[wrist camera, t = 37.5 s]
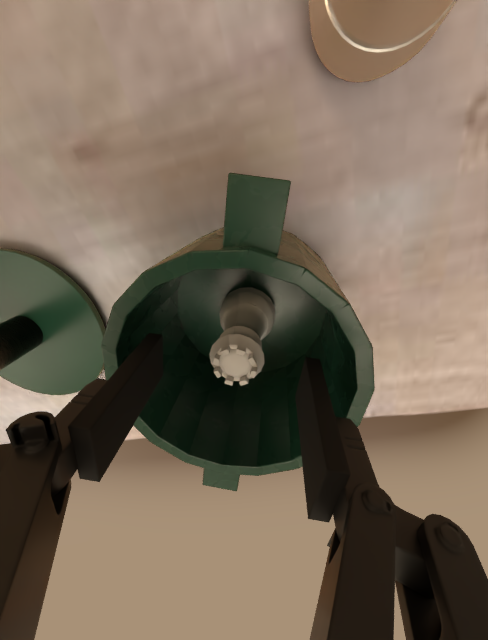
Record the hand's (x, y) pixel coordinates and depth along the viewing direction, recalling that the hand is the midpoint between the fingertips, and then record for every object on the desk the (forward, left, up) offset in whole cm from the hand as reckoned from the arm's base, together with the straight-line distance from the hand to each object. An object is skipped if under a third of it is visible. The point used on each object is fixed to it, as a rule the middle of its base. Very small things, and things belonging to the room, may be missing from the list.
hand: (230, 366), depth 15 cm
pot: (0, 0, -9) cm, 9 cm away
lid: (-20, -5, -8) cm, 22 cm away
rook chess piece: (0, 0, -8) cm, 8 cm away
